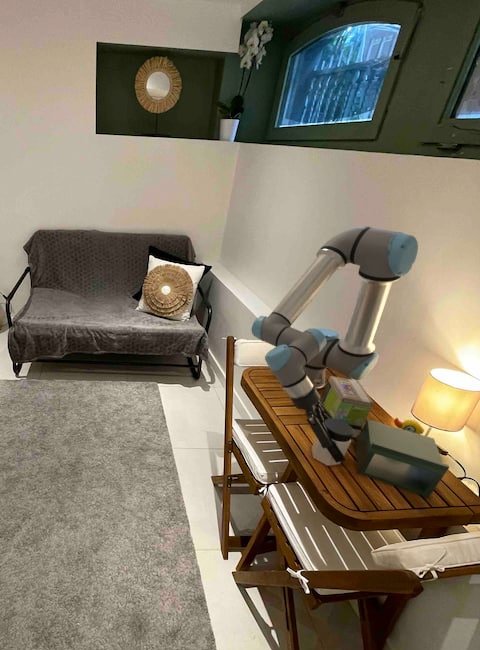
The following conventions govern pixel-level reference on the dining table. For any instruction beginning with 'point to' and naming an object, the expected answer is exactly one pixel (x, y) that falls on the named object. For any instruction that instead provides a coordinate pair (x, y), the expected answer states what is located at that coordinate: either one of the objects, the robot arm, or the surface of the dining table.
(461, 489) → the dining table surface
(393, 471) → the shelf
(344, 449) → the jar
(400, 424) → the duckling
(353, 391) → the tea box
